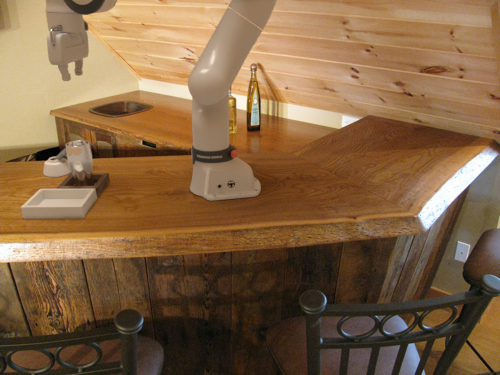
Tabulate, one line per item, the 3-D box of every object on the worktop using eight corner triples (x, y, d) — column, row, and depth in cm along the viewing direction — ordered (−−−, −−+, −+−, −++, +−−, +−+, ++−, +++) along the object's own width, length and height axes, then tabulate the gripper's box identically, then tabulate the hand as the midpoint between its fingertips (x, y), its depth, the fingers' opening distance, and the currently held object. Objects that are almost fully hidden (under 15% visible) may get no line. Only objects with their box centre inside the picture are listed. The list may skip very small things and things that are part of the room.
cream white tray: (97, 199, 120) (95, 188, 119) (83, 218, 109) (81, 206, 108) (42, 199, 120) (40, 188, 118) (23, 218, 109) (20, 207, 107)
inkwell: (43, 169, 141) (37, 142, 137) (97, 162, 149) (93, 136, 144) (43, 179, 134) (37, 150, 130) (100, 170, 141) (96, 143, 137)
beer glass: (89, 182, 131) (81, 138, 125) (101, 188, 127) (94, 143, 121) (68, 189, 126) (60, 143, 120) (80, 195, 123) (72, 148, 116)
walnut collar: (109, 181, 133) (108, 172, 131) (98, 196, 122) (97, 187, 121) (72, 181, 132) (71, 172, 131) (58, 197, 121) (56, 188, 120)
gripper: (63, 27, 98) (71, 84, 104) (90, 23, 117) (95, 72, 122) (36, 25, 98) (45, 83, 103) (67, 22, 116) (74, 72, 122)
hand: (73, 77), depth 113 cm, fingers open, 8 cm apart
